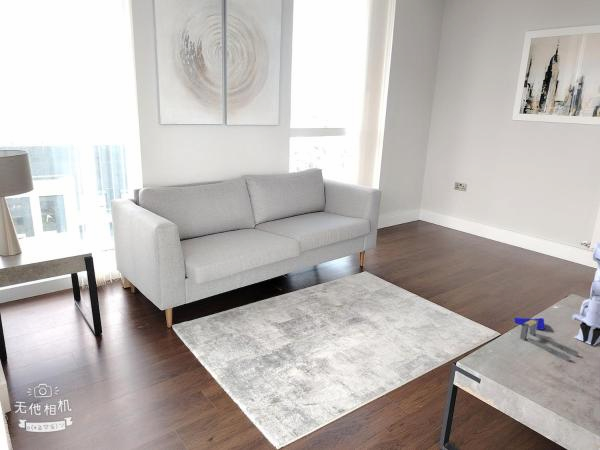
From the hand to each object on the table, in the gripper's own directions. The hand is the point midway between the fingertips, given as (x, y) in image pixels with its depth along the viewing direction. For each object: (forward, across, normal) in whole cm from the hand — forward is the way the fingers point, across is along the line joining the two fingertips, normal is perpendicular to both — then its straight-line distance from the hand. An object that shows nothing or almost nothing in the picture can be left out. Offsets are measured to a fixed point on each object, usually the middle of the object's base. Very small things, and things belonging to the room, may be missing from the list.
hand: (588, 342), depth 166 cm
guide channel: (+9, -12, 0) cm, 16 cm away
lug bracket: (+9, -23, 0) cm, 25 cm away
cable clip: (+7, -27, +9) cm, 29 cm away
